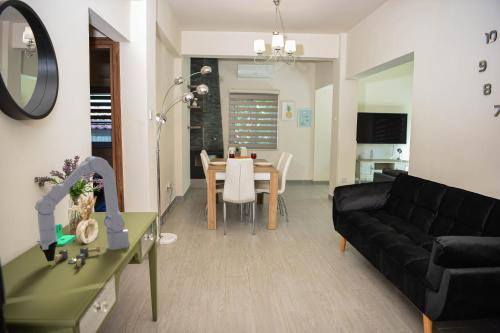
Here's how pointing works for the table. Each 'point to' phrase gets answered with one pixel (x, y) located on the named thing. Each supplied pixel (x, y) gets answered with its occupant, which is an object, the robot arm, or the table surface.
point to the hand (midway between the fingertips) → (50, 260)
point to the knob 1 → (61, 255)
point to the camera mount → (63, 236)
